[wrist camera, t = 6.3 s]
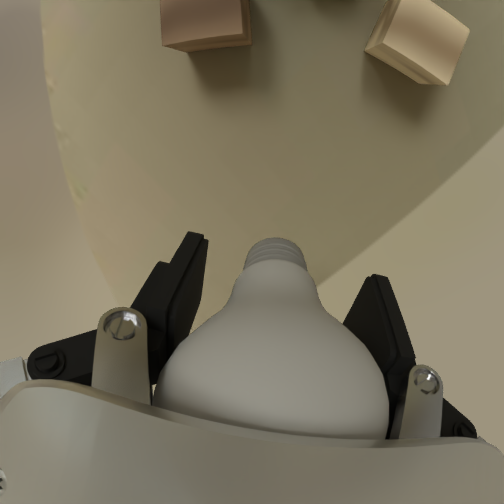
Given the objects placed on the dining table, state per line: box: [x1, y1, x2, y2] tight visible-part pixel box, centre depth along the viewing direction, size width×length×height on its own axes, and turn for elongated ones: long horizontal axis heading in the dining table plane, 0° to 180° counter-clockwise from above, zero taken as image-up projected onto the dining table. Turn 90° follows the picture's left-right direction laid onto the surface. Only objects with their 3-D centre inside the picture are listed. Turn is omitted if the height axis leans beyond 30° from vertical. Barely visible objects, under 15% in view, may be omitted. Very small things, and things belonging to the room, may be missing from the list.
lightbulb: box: [152, 238, 389, 440], centre depth 9 cm, size 6×6×11 cm
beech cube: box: [364, 0, 470, 86], centre depth 15 cm, size 5×5×5 cm
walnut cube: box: [160, 0, 252, 53], centre depth 16 cm, size 5×5×5 cm
